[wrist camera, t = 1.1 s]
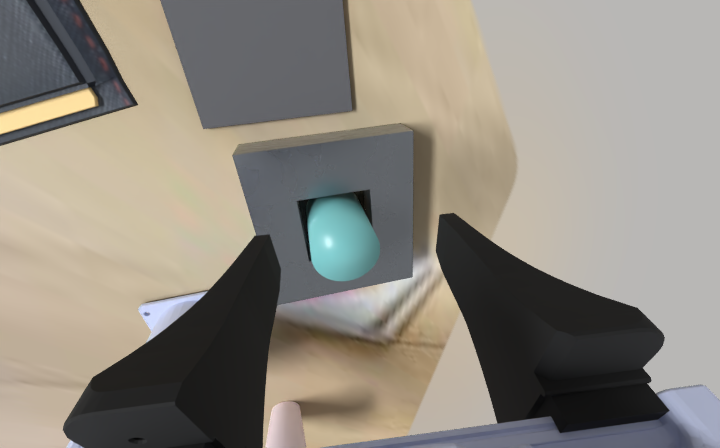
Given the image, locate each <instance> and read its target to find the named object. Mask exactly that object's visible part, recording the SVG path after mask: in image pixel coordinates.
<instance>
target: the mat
mask: <svg viewBox="0 0 720 448" xmlns="http://www.w3.org/2000/svg"><path fill="white" fill-rule="evenodd" d="M160 1H161V4H162V7H163V10H164V13H165V16H166V19H167V22H168V25H169V28H170V31H171V34H172V37H173V40H174V43H175V46H176V49H177V52H178V55H179V58H180V61H181V64H182V67H183V70H184V73H185V76H186V79H187V82H188V85H189V88H190V91H191V94H192V97H193V100H194V103H195V105H196V108H197V111H198V114H199V117H200V120H201V123H202V126H203V129H207V128H215V127H223V126H232V125H240V124H248V123H256V122H264V121H272V120H281V119H289V118H297V117H305V116H313V115H322V114H330V113H338V112H346V111H352V101H351V90H350V79H349V68H348V57H347V45H346V34H345V23H344V12H343V1H342V0H160Z"/></svg>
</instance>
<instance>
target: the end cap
mask: <svg viewBox="0 0 720 448" xmlns="http://www.w3.org/2000/svg"><path fill="white" fill-rule="evenodd" d="M306 218H307V226H308V235H309V243H310V252H311V260H312V264H313V266H314V268H315V269H316V271H317V272H318V273H319V274H321V275H322V276H324V277H325V278H327V279H330V280H334V281H350V280H354V279H356V278H359V277H361V276H363V275H364V274H366V273H367V272H368V271H370V270H371V269H372V268H373V266H374V265H375V264H376V262H377V260H378V258H379V254H380V243H379V240H378V238H377V236H376V234H375V232H374V230H373V228H372V226H371V224H370V222H369V220H368V218H367V216H366V214H365V212H364V210H363V208H362V206H361V204H360V202H359V200H358V198H357V196H356V195H355V194H354V193H353V192H349V193H343V194H337V195H331V196H325V197H318V198H312V199H309V201H308V203H307V206H306Z"/></svg>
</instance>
